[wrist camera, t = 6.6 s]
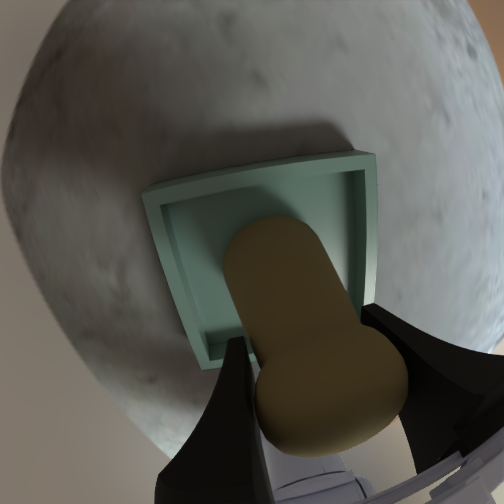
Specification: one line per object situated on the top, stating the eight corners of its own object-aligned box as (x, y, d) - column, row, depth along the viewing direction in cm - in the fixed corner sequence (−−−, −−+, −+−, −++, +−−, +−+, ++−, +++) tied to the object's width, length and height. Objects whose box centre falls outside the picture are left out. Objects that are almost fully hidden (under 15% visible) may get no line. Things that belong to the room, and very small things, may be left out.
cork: (224, 310, 17) (248, 485, 8) (220, 217, 15) (249, 404, 5) (317, 302, 18) (394, 447, 8) (329, 214, 16) (467, 346, 6)
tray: (357, 311, 21) (370, 330, 19) (201, 346, 21) (201, 370, 19) (355, 149, 16) (375, 153, 14) (151, 184, 15) (140, 194, 13)
